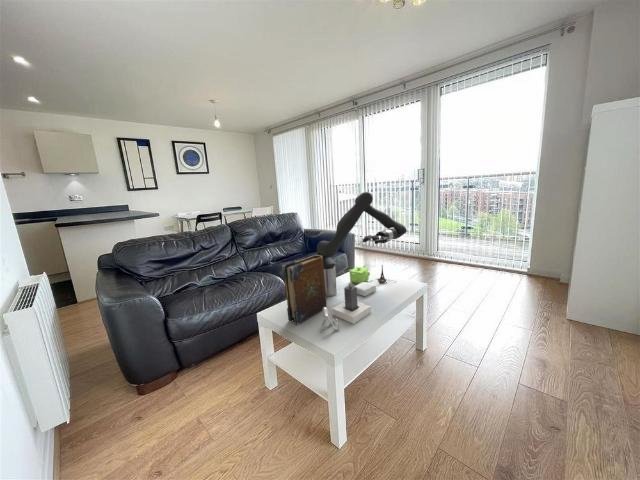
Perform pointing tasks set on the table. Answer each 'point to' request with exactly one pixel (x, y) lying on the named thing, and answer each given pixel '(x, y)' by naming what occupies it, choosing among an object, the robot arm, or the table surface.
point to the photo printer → (365, 288)
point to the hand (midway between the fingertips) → (369, 241)
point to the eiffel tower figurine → (381, 278)
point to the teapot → (359, 275)
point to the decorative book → (304, 288)
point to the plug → (351, 297)
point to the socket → (350, 315)
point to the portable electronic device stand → (326, 317)
